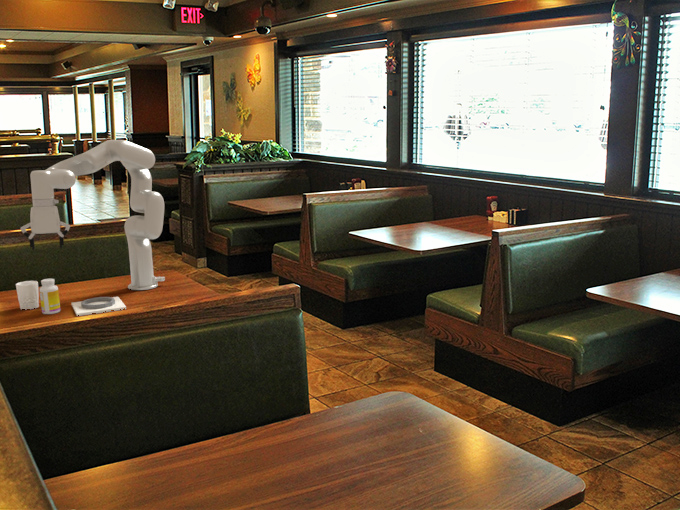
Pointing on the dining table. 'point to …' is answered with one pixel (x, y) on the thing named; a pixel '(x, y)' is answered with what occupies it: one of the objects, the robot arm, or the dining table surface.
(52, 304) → the supplement bottle
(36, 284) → the white cup
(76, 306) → the mount board
